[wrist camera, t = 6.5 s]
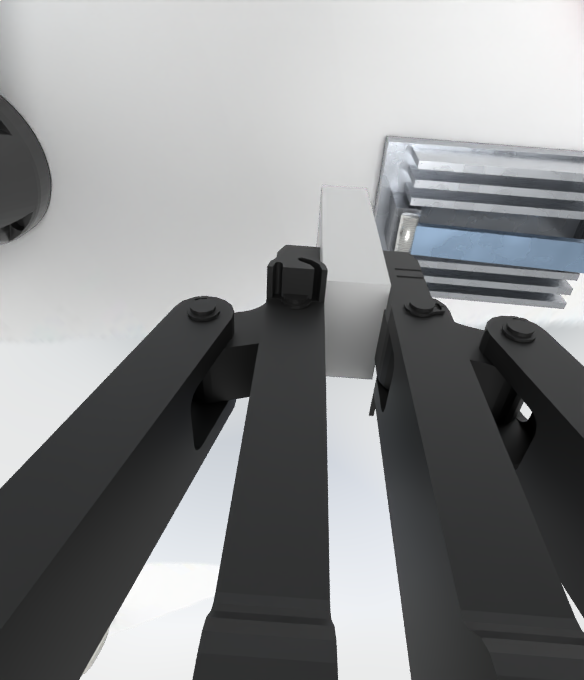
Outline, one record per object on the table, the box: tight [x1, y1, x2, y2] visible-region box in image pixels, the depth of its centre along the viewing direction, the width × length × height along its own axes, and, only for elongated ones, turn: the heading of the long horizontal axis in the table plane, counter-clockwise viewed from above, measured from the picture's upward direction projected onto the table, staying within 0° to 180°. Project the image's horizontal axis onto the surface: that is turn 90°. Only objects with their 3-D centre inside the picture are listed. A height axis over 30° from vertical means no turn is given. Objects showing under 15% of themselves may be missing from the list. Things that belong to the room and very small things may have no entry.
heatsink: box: [374, 136, 584, 309], centre depth 39 cm, size 19×12×9 cm, turn 87°
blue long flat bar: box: [394, 213, 584, 273], centre depth 37 cm, size 15×4×1 cm, turn 87°
